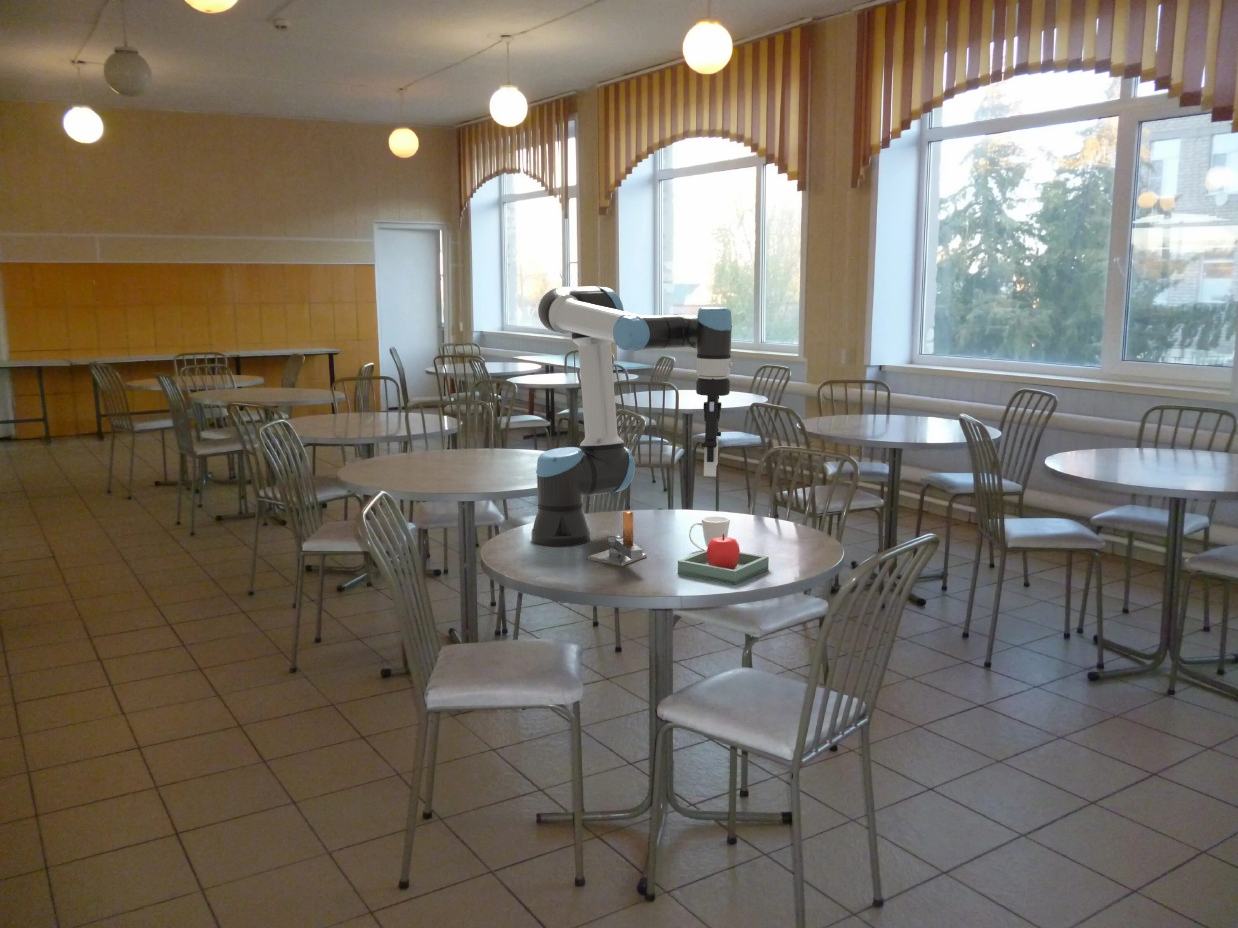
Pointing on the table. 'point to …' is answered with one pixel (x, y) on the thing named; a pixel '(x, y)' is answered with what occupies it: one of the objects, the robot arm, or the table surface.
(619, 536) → the crank
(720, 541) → the apple
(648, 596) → the table surface
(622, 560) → the crank post
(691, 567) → the tray
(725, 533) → the cup
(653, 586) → the table surface
